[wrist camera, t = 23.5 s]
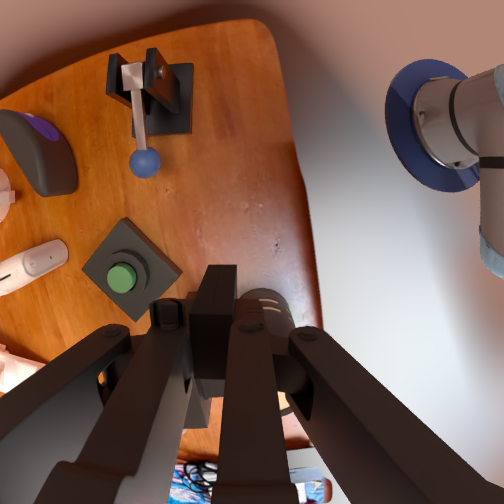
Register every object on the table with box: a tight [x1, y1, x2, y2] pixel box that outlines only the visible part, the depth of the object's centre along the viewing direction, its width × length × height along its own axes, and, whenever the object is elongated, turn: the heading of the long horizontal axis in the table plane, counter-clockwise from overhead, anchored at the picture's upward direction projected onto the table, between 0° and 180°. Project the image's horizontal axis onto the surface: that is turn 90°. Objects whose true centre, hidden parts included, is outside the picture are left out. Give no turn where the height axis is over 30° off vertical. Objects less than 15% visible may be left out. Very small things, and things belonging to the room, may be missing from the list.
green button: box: [107, 263, 136, 293], centre depth 40 cm, size 4×4×2 cm
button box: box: [82, 217, 182, 322], centre depth 42 cm, size 11×10×4 cm
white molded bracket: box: [0, 344, 46, 393], centre depth 42 cm, size 20×11×13 cm, turn 62°
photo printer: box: [0, 239, 68, 296], centre depth 38 cm, size 10×4×12 cm, turn 109°
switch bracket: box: [106, 48, 194, 138], centre depth 32 cm, size 10×8×14 cm
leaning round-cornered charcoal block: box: [0, 109, 77, 197], centre depth 35 cm, size 16×5×9 cm, turn 39°
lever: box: [121, 61, 161, 178], centre depth 31 cm, size 13×4×4 cm, turn 0°
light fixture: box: [183, 288, 296, 429], centre depth 37 cm, size 10×14×18 cm
